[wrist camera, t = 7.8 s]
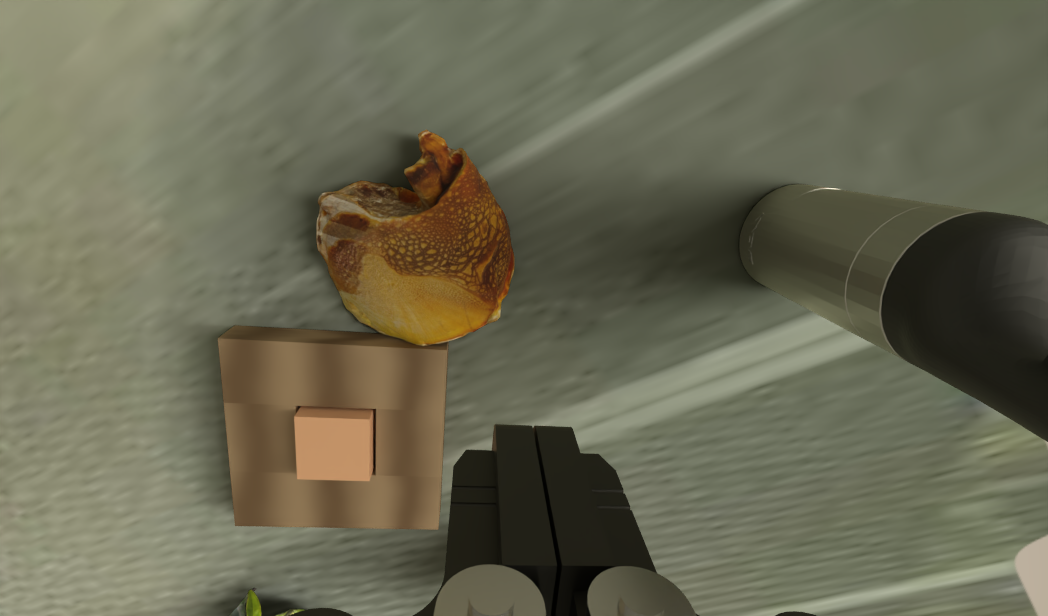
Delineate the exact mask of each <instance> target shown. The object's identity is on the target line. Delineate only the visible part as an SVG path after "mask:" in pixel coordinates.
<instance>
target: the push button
mask: <svg viewBox="0 0 1048 616" xmlns="http://www.w3.org/2000/svg"><path fill="white" fill-rule="evenodd" d="M294 425H295V445H296V466H297V479H303V480H340V481H370V478H371V475H372V472H373V469H374V465H375V462H376V409H366V408H341V407H316V406H301V407H300V409H299V410H298V412H297V413H296V415H295V416H294Z"/></svg>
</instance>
